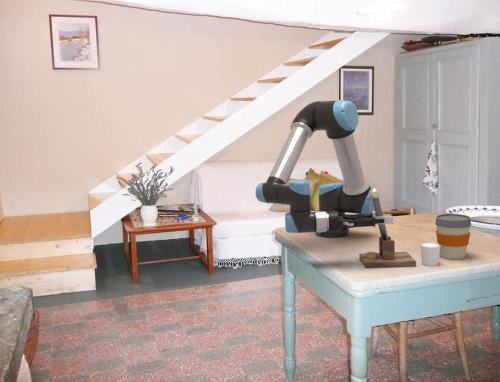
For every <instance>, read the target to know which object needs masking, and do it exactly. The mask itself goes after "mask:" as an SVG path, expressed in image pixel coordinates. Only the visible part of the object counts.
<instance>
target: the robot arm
mask: <svg viewBox="0 0 500 382" xmlns="http://www.w3.org/2000/svg"><path fill="white" fill-rule="evenodd" d="M357 109H358V108H357V107H356V105H355V104H354V103H353V102H352V101H349V100H342V99H338V100H325V101H324V100H322V101H321V100H320V101H319V100H318V101H312V102H311V103H309V104H306V106H304V107H303V108H302V109H301V110H300V111H299V112H298V113H297V114H296V116H295V117H294V118H293V120H292V122H291V123H290V127H289V129H290V132H289V134H288V136H287V138H286V140H285V142H284V145H283V147H282V149H281V151H280V152H279V155H278V156H277V159H276V161H275V163H274V166H273V167H272V170H271V171H270V174H269V176H268V178H267V179H266V181H265V182H260V183H259V184H258V185H257V186H256V188H255V197H256V199H257V201H259V202H260V203H263V204H265V203H266V204H273V205H274V204H276V205H278V204H279V205H284V206H285V205H286V206H289V212H286V213H285V214H284V224H285V225H284V228H285V232H286V233H289V234H291V233H292V234H304V233H305V234H306V233H315V234H316V235H317V236H318V237H324V238H342V237H345V236H348V235H350V229H353V228H363V227H364V228H365V227H368V228H369V227H373V228H375V227H376V226H378V224H385V225H393V224H394V216H393V215H392V214H391V213H390V214H383V217H376V214H373V213H374V212H375V209H374V205H373V201H372V199H371V198H370V197H369V191H370V190H371V189H373V188H374V187H371V185H370V182H369V180H368V179H366V178H365V176H364V172H363V168H362V163H361V160H360V156H359V153H358V148H357V145H356V142H355V141H356V140H355V137H354V133H355V131H356V128H357V127H358V124H359V113H358V110H357ZM317 131H325V134H326V136H327V138H328V139H329V140H331V142H332V144H333V147H334V152H335V155H336V158H337V162H338V166H339V168H340V171H341V175H342V179H343V182H342V181H340V182H331V183H326V184H321V185H320V186H319V188H318V211H311V193H312V192H311V185H310V184H311V183H310V181H309V180H307V179H303V178H302V179H292V180H290V179H291V176H292V174H293V171H294V169H295V167H296V165H297V162H299V161H298V160H299V159H300V157H301V156H302V155H301V154H302V153H303V150H304V148H305V145H306V144H307V141H308V139H310V138H312V136H313V135H314V132H317ZM289 180H290V181H289Z"/></svg>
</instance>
